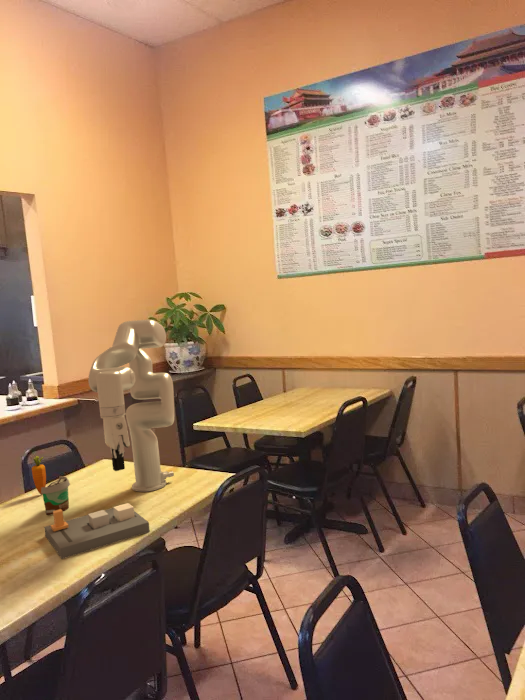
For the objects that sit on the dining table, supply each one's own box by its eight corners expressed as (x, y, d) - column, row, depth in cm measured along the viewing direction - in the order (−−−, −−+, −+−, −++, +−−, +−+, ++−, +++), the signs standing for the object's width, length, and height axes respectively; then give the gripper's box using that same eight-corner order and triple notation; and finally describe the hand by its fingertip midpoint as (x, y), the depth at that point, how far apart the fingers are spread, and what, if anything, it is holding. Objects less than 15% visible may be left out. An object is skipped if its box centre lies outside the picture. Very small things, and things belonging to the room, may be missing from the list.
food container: (60, 516, 196) (57, 487, 195) (44, 516, 197) (40, 487, 196) (79, 502, 208) (75, 475, 207) (63, 502, 209) (60, 475, 208)
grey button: (104, 522, 182) (103, 509, 182) (109, 526, 178) (108, 514, 178) (89, 526, 180) (87, 514, 179) (94, 531, 176) (92, 518, 175)
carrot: (36, 493, 222) (32, 454, 220) (50, 491, 222) (45, 453, 221) (32, 497, 217) (27, 458, 216) (46, 496, 218) (41, 457, 216)
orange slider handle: (65, 523, 180) (63, 507, 180) (68, 527, 177) (66, 510, 177) (50, 527, 178) (48, 511, 177) (53, 531, 175) (51, 514, 174)
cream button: (129, 515, 187) (128, 502, 186) (134, 519, 183) (133, 507, 182) (114, 519, 184) (113, 507, 184) (119, 523, 180) (118, 511, 180)
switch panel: (126, 513, 194) (125, 504, 194) (149, 531, 177) (148, 521, 177) (45, 536, 180) (44, 526, 180) (61, 558, 163) (60, 548, 163)
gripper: (133, 412, 175) (139, 472, 177) (116, 406, 188) (122, 462, 190) (108, 416, 171) (115, 477, 173) (93, 410, 184) (99, 467, 186)
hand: (119, 469), depth 181 cm, fingers closed
